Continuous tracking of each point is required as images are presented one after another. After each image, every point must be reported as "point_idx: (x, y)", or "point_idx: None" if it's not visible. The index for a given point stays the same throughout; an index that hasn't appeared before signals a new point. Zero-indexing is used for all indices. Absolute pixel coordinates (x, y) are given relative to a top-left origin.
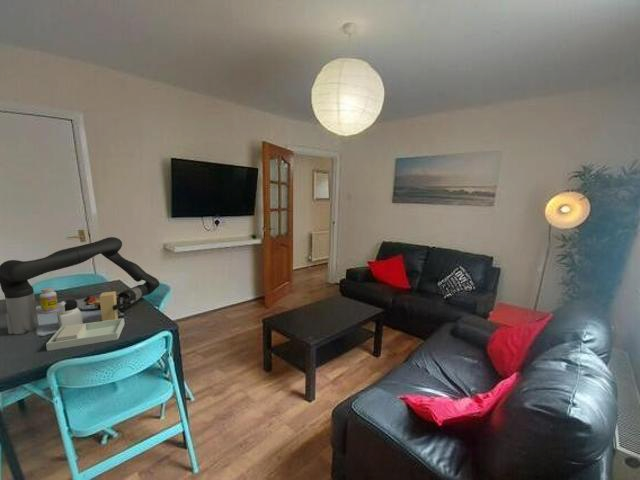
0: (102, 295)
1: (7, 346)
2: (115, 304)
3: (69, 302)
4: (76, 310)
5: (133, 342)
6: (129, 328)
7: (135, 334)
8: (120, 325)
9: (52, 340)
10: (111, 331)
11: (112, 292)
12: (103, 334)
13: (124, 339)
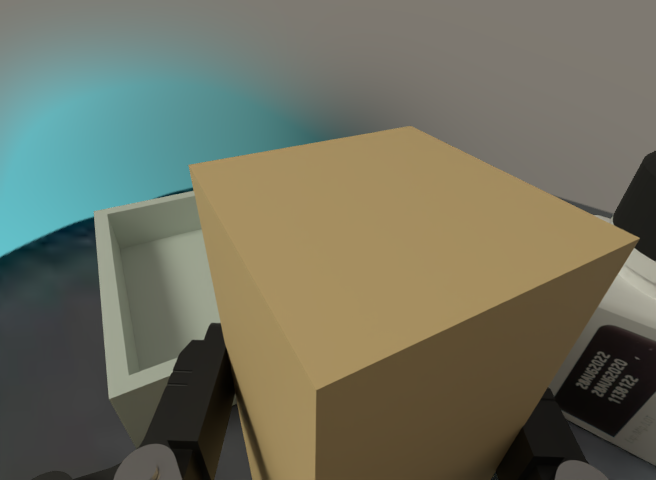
0: (400, 144)
1: (592, 209)
2: (259, 437)
3: None
4: (642, 287)
5: (17, 255)
6: (73, 402)
7: (9, 323)
8: (100, 277)
9: None
10: (191, 310)
11: (333, 266)
12: (171, 200)
13: (78, 273)
